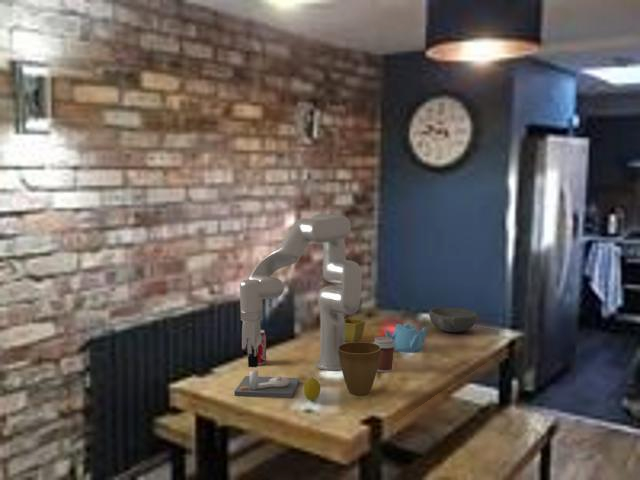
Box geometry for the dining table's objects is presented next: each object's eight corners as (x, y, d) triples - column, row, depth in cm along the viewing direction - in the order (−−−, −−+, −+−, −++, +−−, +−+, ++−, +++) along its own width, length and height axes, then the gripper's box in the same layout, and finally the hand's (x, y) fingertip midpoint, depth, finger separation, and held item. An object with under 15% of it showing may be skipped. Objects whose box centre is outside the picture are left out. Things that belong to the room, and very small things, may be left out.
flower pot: (365, 340, 308) (365, 320, 307) (355, 344, 301) (356, 324, 300) (348, 337, 313) (348, 318, 312) (338, 341, 306) (338, 321, 304)
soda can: (263, 366, 268) (263, 334, 267) (245, 365, 270) (245, 333, 268) (268, 361, 275) (268, 329, 274) (251, 360, 276) (250, 328, 275)
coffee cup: (400, 369, 265) (400, 339, 263) (385, 374, 258) (385, 343, 257) (382, 364, 271) (382, 334, 270) (366, 369, 265) (367, 339, 263)
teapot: (429, 346, 298) (429, 322, 297) (418, 355, 284) (418, 329, 283) (395, 342, 305) (396, 318, 303) (383, 350, 291) (384, 325, 290)
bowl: (481, 337, 313) (482, 316, 312) (432, 337, 313) (432, 316, 312) (471, 325, 336) (472, 305, 334) (425, 325, 336) (425, 305, 335)
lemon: (303, 398, 232) (303, 375, 231) (319, 397, 233) (319, 375, 232) (304, 404, 227) (304, 380, 226) (320, 403, 227) (321, 380, 226)
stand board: (299, 382, 249) (299, 375, 249) (292, 398, 233) (292, 391, 232) (245, 379, 252) (245, 373, 251) (234, 395, 235) (234, 388, 235)
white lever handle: (283, 379, 246) (283, 363, 245) (292, 385, 240) (292, 368, 239) (246, 386, 239) (246, 369, 239) (254, 391, 233) (253, 374, 233)
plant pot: (356, 382, 249) (356, 339, 248) (388, 391, 239) (389, 347, 237) (328, 392, 239) (328, 347, 237) (361, 402, 228) (361, 355, 227)
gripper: (245, 310, 245) (247, 359, 248) (235, 320, 231) (237, 373, 233) (266, 310, 245) (267, 360, 247) (257, 320, 230) (259, 373, 232)
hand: (253, 366), depth 240 cm, fingers closed
